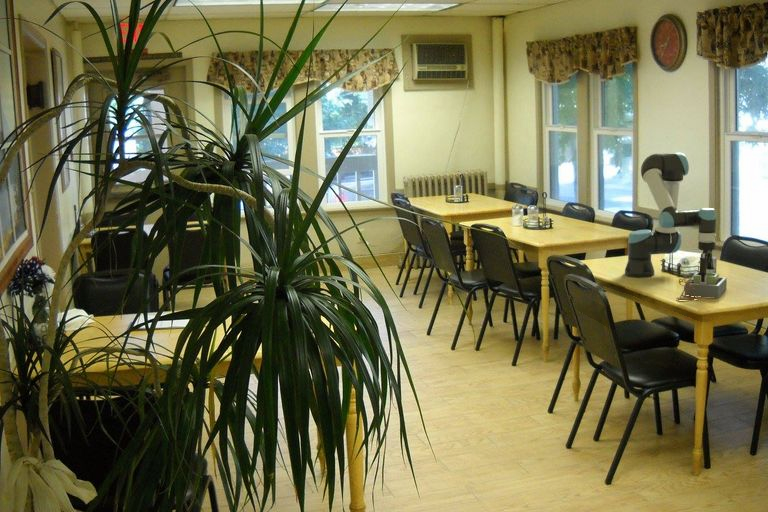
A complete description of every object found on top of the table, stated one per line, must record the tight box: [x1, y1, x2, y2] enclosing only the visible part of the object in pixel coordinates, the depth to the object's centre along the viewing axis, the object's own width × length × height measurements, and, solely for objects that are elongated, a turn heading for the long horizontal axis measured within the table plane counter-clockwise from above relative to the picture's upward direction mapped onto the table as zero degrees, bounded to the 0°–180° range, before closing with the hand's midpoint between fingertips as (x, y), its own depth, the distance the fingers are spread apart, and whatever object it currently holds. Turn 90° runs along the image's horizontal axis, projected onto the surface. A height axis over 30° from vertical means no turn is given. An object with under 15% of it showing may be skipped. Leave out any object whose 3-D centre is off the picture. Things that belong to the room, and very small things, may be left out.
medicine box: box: [698, 256, 718, 273], centre depth 466 cm, size 8×4×9 cm, turn 84°
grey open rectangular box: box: [684, 276, 728, 299], centre depth 425 cm, size 15×20×6 cm
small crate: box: [692, 271, 720, 285], centre depth 424 cm, size 10×8×8 cm
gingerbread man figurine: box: [676, 273, 699, 301], centre depth 412 cm, size 9×4×12 cm, turn 95°
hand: (705, 285), depth 425 cm, fingers open, 12 cm apart
